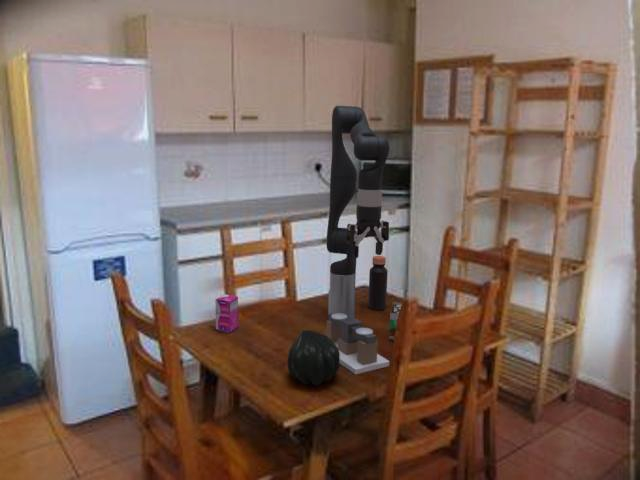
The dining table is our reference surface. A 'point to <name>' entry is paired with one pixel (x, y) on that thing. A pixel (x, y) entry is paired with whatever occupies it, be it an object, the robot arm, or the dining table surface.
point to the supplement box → (226, 313)
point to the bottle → (378, 284)
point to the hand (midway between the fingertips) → (367, 255)
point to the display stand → (355, 352)
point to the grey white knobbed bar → (352, 329)
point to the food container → (394, 319)
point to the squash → (313, 358)
